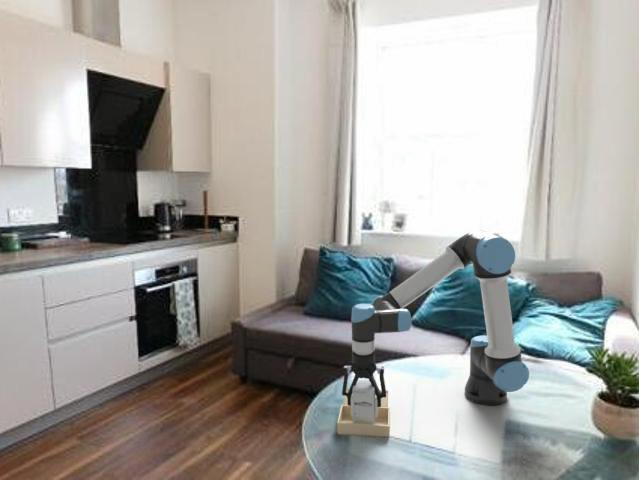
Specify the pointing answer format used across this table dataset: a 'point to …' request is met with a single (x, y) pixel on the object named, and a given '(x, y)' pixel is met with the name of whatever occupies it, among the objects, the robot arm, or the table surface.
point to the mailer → (376, 430)
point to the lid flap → (383, 400)
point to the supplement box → (363, 402)
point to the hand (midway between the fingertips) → (364, 414)
